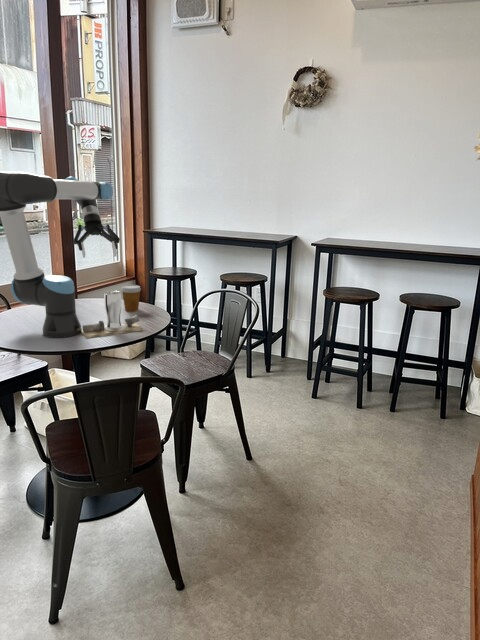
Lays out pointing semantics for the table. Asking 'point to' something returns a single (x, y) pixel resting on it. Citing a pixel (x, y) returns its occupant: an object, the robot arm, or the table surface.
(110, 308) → the beer glass
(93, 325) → the shaft cradle
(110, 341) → the table surface
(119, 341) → the table surface
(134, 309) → the disposable coffee cup
